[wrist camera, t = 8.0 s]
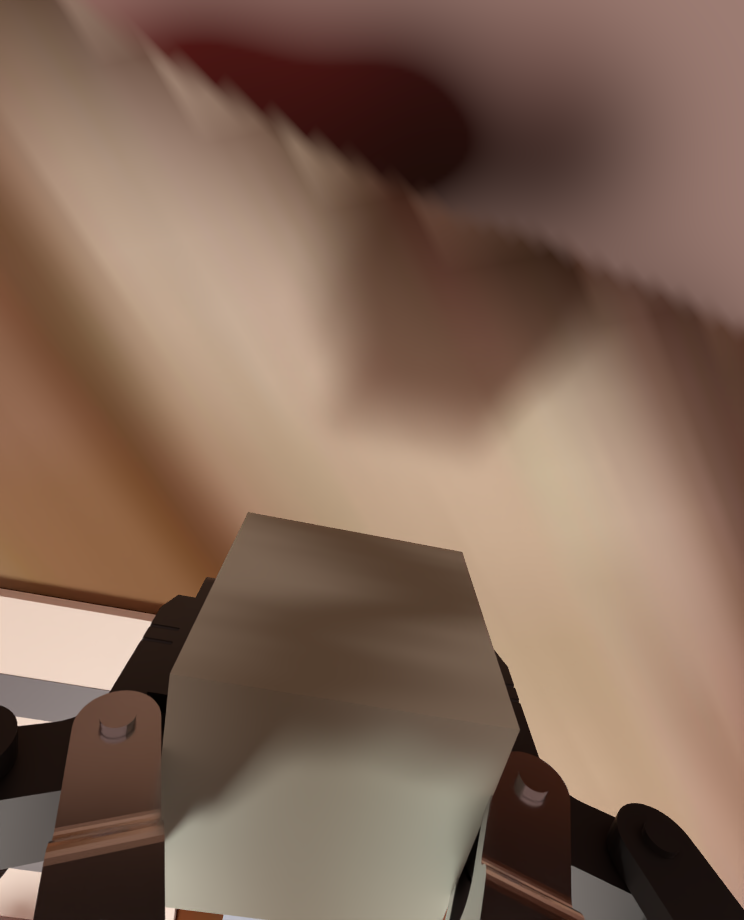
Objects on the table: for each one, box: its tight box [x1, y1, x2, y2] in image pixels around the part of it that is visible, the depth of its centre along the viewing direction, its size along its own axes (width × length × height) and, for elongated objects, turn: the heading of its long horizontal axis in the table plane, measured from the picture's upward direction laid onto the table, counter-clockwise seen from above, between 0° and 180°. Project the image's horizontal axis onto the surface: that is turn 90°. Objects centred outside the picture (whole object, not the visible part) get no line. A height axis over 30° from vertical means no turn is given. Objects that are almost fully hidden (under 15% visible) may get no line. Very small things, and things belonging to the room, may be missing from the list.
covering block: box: [161, 512, 520, 920], centre depth 11 cm, size 5×5×5 cm
